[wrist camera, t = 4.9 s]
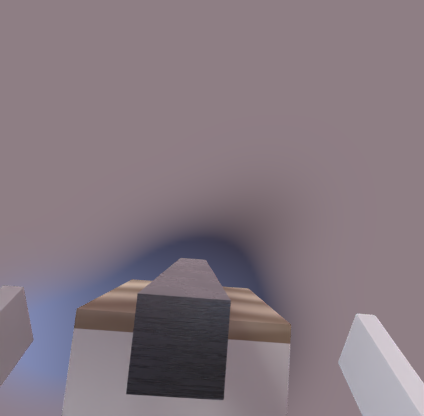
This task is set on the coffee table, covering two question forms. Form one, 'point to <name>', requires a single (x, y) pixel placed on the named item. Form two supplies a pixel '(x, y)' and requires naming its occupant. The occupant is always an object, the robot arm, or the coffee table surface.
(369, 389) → the robot arm
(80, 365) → the pedestal
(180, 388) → the metal bar
